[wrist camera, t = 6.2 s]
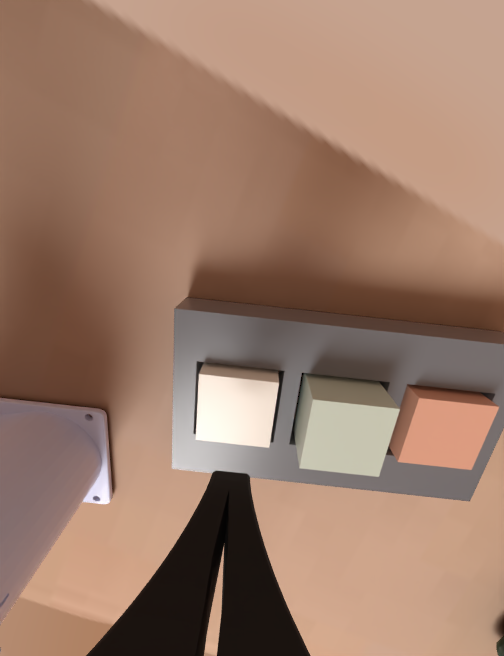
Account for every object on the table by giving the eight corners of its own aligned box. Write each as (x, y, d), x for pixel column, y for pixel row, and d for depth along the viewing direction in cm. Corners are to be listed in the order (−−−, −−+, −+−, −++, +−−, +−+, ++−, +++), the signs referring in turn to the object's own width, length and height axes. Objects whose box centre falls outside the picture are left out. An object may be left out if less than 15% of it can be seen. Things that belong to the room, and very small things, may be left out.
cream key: (206, 407, 18) (195, 439, 16) (209, 350, 17) (199, 373, 14) (268, 414, 18) (269, 447, 16) (276, 357, 17) (278, 382, 14)
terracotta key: (376, 426, 18) (397, 461, 16) (393, 370, 17) (419, 398, 14) (439, 433, 18) (471, 470, 16) (460, 377, 17) (499, 407, 14)
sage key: (293, 429, 17) (299, 468, 14) (304, 369, 16) (313, 399, 13) (359, 436, 17) (378, 477, 14) (375, 377, 16) (400, 409, 13)
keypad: (182, 440, 20) (171, 468, 17) (187, 297, 16) (174, 308, 14) (444, 468, 20) (469, 501, 17) (500, 331, 16) (540, 348, 14)
